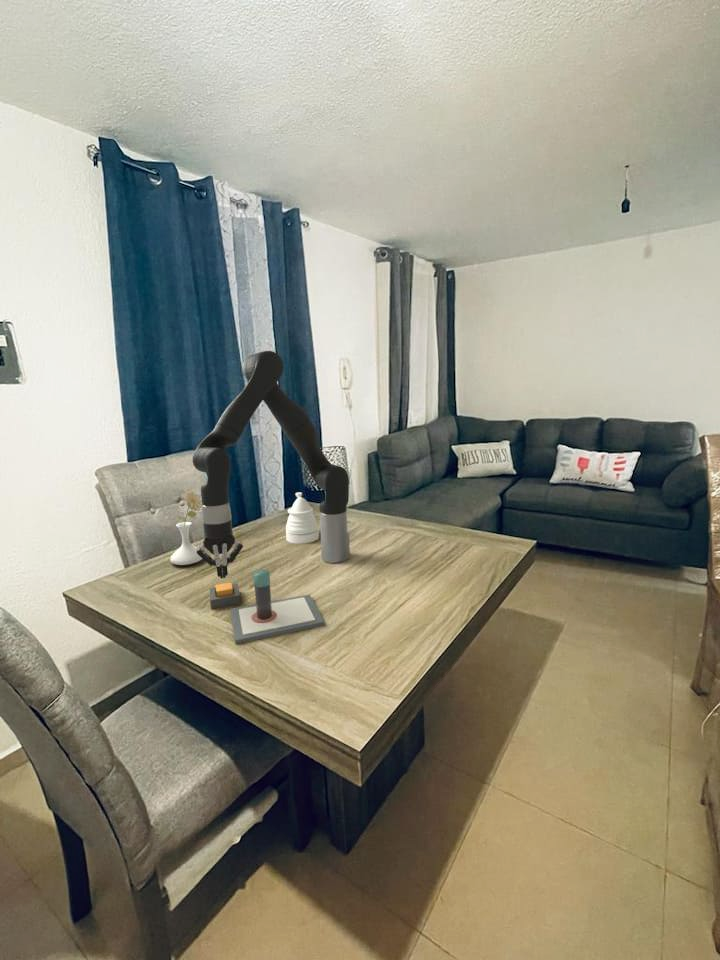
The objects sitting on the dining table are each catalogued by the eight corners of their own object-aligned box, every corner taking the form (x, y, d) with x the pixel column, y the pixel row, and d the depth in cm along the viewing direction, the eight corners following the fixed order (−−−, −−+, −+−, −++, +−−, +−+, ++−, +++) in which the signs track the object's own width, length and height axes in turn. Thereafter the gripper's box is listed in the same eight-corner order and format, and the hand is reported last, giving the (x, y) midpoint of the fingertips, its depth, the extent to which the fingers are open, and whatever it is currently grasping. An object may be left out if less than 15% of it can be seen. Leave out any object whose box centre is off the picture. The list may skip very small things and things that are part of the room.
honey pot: (282, 535, 179) (279, 492, 175) (312, 530, 185) (310, 488, 181) (291, 545, 168) (288, 500, 164) (323, 540, 173) (321, 495, 169)
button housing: (238, 591, 132) (237, 583, 132) (240, 603, 125) (240, 595, 124) (210, 596, 130) (209, 588, 129) (211, 608, 122) (210, 600, 122)
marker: (271, 610, 118) (268, 568, 115) (273, 618, 114) (270, 574, 111) (255, 613, 116) (252, 571, 114) (257, 621, 113) (254, 577, 110)
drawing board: (309, 597, 127) (309, 592, 127) (324, 625, 113) (324, 620, 112) (230, 612, 120) (230, 607, 120) (235, 644, 105) (234, 638, 105)
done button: (232, 588, 130) (231, 582, 129) (233, 595, 125) (232, 588, 125) (216, 591, 128) (215, 585, 128) (216, 598, 124) (216, 591, 124)
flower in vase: (184, 570, 148) (176, 498, 142) (163, 564, 154) (154, 494, 148) (215, 557, 159) (208, 489, 153) (195, 551, 165) (187, 486, 159)
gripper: (240, 512, 127) (245, 568, 131) (191, 518, 123) (198, 575, 127) (243, 519, 121) (247, 578, 124) (191, 525, 116) (198, 586, 120)
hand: (222, 577), depth 126 cm, fingers closed
